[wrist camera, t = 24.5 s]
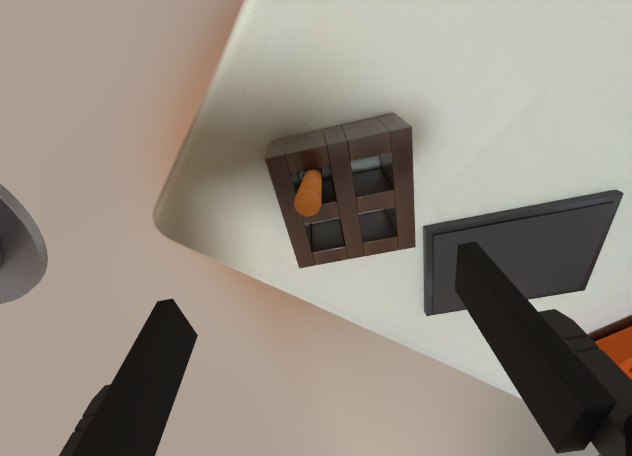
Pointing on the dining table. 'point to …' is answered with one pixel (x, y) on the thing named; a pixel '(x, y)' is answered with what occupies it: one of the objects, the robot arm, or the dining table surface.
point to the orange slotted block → (619, 349)
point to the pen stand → (348, 190)
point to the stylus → (309, 193)
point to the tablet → (522, 248)
